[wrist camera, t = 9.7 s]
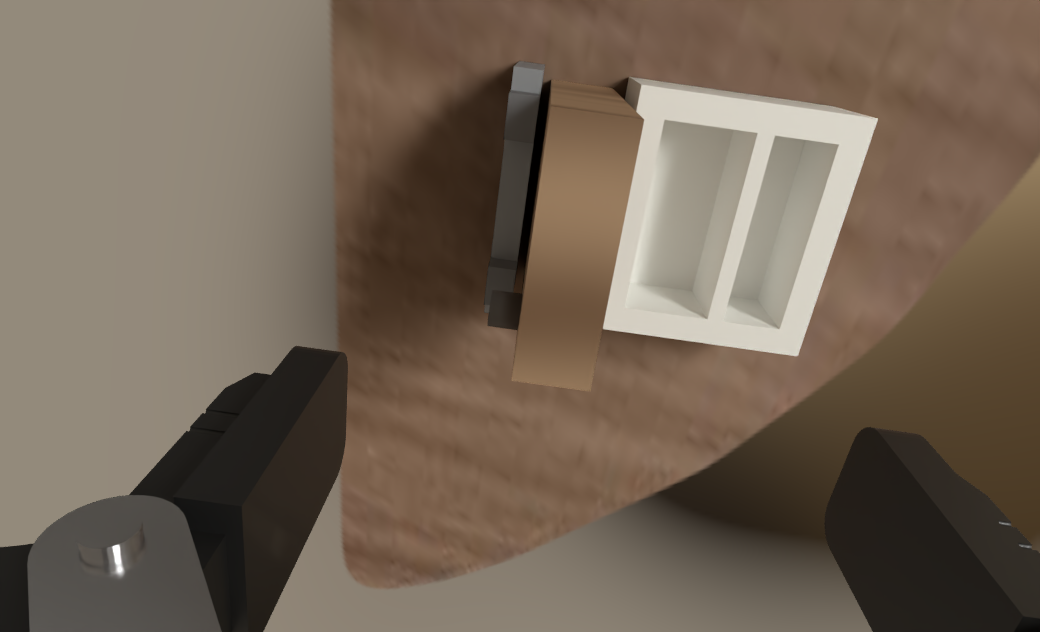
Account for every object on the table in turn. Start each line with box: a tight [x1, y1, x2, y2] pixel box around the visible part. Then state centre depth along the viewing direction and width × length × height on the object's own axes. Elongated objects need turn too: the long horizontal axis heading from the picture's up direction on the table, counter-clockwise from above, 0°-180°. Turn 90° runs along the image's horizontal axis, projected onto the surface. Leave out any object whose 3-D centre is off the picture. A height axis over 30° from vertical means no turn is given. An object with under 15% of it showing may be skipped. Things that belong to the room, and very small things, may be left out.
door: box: [488, 80, 644, 391], centre depth 23 cm, size 8×3×10 cm, turn 173°
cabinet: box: [484, 61, 878, 356], centre depth 25 cm, size 9×12×5 cm
